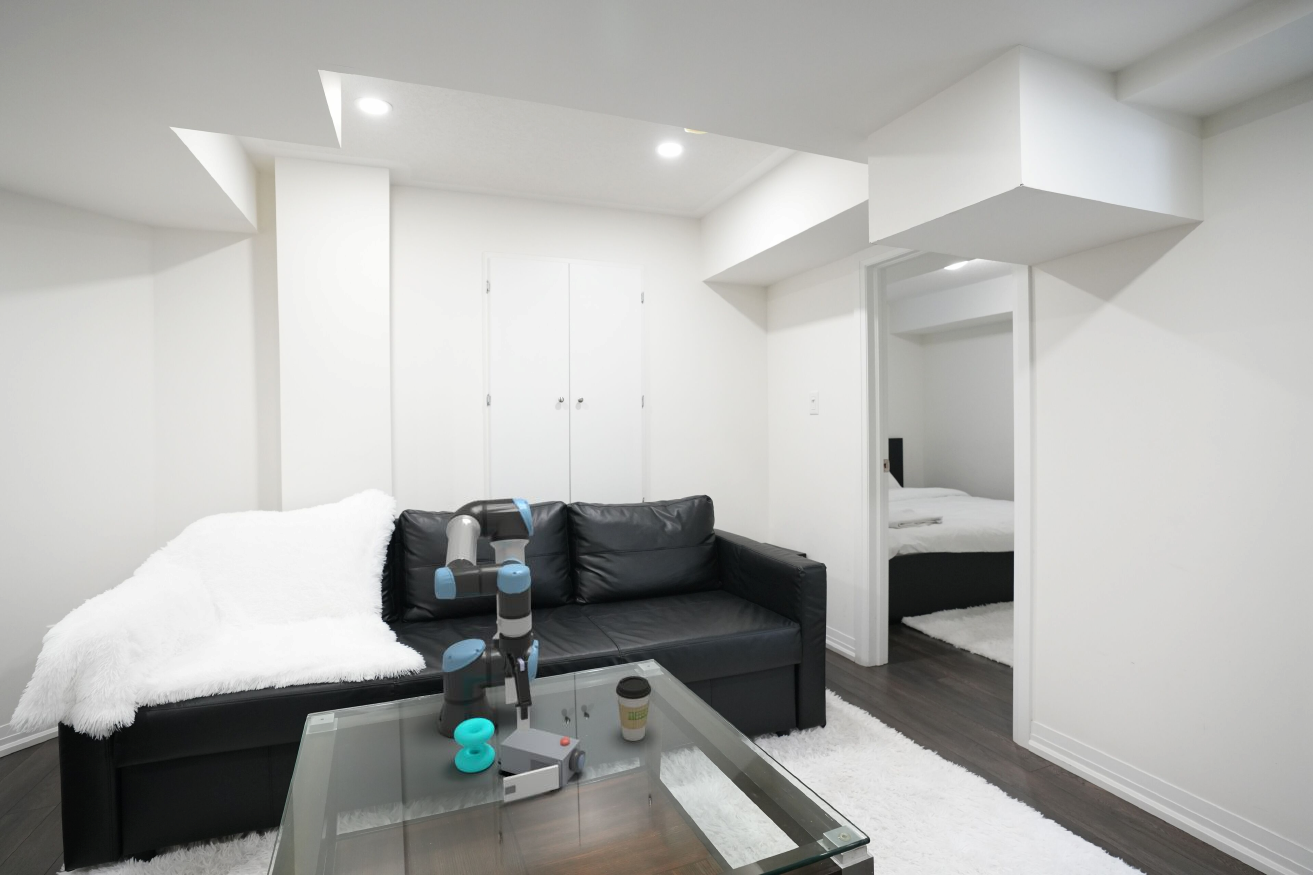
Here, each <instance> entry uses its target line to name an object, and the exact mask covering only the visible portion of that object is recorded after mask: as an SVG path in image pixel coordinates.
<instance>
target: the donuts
mask: <svg viewBox="0 0 1313 875" xmlns="http://www.w3.org/2000/svg"><path fill="white" fill-rule="evenodd" d="M494 732H495V726H494V723H493V722H490V721H489V720H487V719H483V718H474V719H469V720H466V721H464V722H462V723H461V724H460V725H459V726H458V727H457V728H456V729H455V732H454V738H453V739H454V740H455V742H456V743H457V744H458V745H460V746H462V748H461V749H460V750H459V751H457V753H456V755H455V756H454V764H455V766H456V768H457V769H458V770H459V771H462V772H464V773H478V772H481V771H483V770H486V769H488V768H489V767H490V766H491V765H492V764H493V762H494V760H495V758H496V751H495V749H494V748H493V747H492V746H491V745H490V744H488V743H487V742H488V741H489V740H491V738H492V737H493V735H494Z"/></svg>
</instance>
